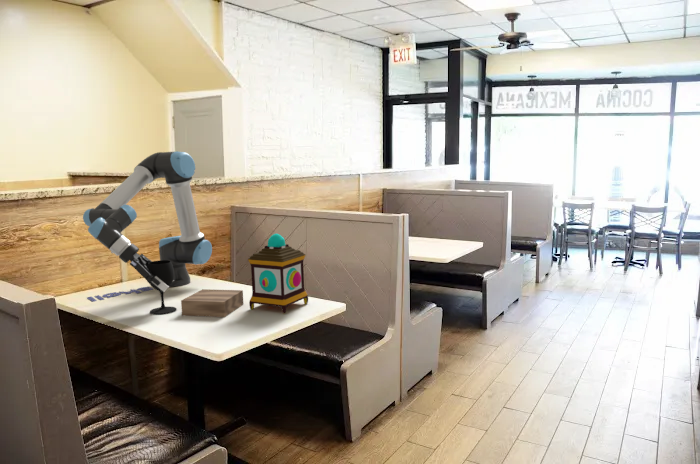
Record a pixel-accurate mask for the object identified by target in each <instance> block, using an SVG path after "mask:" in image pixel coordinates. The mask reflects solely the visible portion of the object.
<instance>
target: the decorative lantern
mask: <svg viewBox="0 0 700 464" xmlns="http://www.w3.org/2000/svg"><path fill="white" fill-rule="evenodd" d="M305 258H306V254H305V253H304V252H303V251H301V250H300V249H295V248H294V247H293V248H292V246H290V245H289V244H286V241H285V238H284V237H283V236H282V235H281V234H279V233H273V234H272V235H271V236H270V237H269V238H268V239H267V245H265V246H264V248H261V250H259V251H257V252H256V253H255V252H254V253H253V254H252V255H251V256H249V257H248V258H247V261H248V263H249V264H250V269H251V270H250V272H251V274H250V275H251V289H252V292H251V297H250V298H249V299H250V300H249V309H250V310H253V309H255V304H257V305H262V306H263V305H265V306H273V307H280V308H281V310H282V314H284V315H285V314H286V313H287V307H288V306H290V305H293V304H295V303H297V302H299V301H301V300H303V303H304V304H305V305H306V304H308V303H309V296H308V295H309V294H308V293H307V291H306V290H305V275H304V259H305Z"/></svg>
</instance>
